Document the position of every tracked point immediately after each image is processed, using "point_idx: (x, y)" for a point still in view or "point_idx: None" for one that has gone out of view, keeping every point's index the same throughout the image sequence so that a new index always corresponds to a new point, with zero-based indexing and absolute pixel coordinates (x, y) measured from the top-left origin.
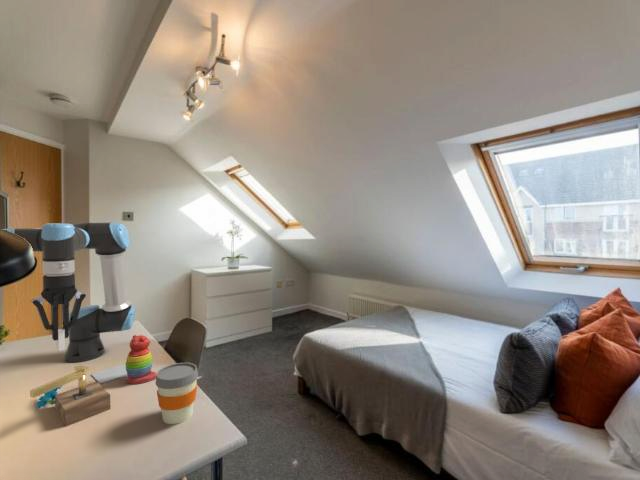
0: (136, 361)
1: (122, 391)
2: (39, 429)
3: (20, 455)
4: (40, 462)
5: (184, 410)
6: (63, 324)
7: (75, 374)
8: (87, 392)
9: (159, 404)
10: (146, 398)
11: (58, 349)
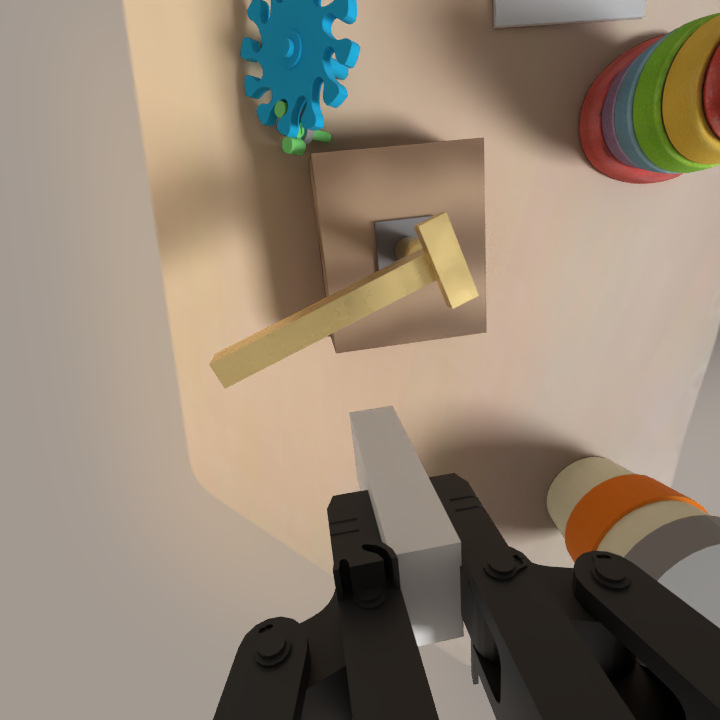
0: (689, 155)
1: (536, 197)
2: (258, 294)
3: (217, 417)
4: (265, 484)
5: None
6: (485, 621)
7: (408, 292)
8: None
9: (570, 538)
10: (572, 328)
11: (357, 475)
